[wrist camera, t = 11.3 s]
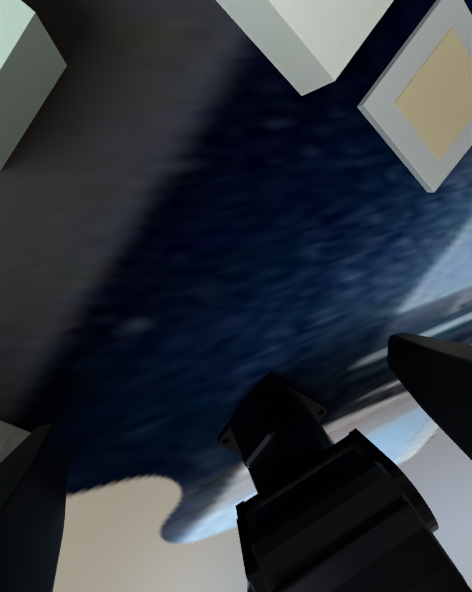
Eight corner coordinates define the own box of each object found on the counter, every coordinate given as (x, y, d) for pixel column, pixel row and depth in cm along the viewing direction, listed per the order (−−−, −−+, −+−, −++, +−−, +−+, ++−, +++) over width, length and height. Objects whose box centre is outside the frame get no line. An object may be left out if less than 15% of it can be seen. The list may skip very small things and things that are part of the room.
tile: (505, 93, 23) (517, 90, 22) (427, 192, 24) (436, 192, 23) (445, -12, 20) (457, -19, 19) (356, 106, 21) (365, 104, 20)
